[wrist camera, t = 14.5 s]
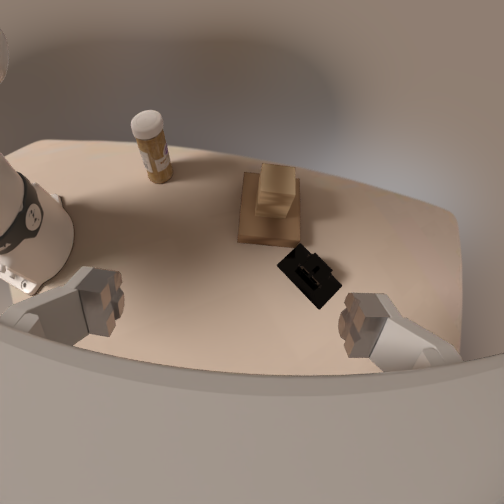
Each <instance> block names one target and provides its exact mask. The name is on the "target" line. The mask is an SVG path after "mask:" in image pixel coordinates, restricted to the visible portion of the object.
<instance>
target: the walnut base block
mask: <svg viewBox="0 0 504 504" xmlns="http://www.w3.org/2000/svg"><path fill="white" fill-rule="evenodd" d="M259 177H260V174H257V173H248V172H244V179H243V188H242V199H241V209H240V219H239V230H238V241H237V242H238V243H249V244H259V245H269V246H279V247H289V248H296V246H297V245H298V243H299V242H300V179H297V178H295V193H296V195H295V197H294V200H293V202H292V204H291V206H290V209H289V211H288V213H287V216H286V218H285V219H280V218H270V217H261V216H255V208H256V194H257V187H258V182H259Z"/></svg>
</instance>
